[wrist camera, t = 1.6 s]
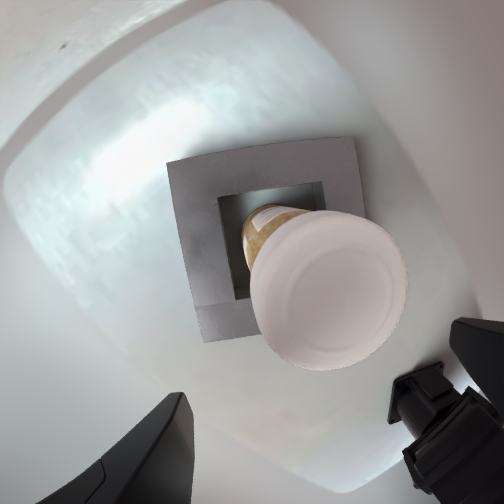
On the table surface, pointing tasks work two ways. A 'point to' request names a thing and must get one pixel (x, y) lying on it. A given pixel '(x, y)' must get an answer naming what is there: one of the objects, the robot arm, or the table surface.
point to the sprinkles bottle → (323, 284)
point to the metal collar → (242, 181)
